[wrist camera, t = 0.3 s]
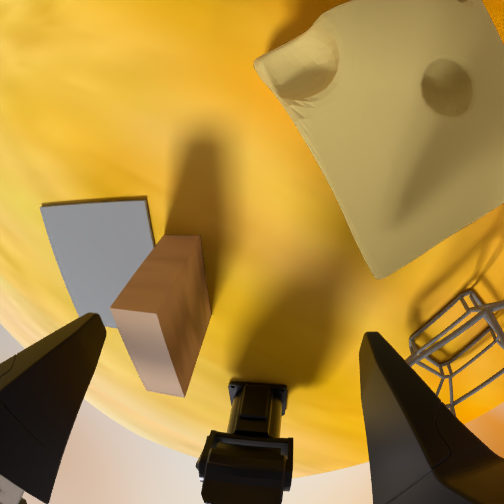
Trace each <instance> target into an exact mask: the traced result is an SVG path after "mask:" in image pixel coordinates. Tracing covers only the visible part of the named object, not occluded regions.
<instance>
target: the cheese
mask: <svg viewBox="0 0 504 504" xmlns="http://www.w3.org/2000/svg"><path fill="white" fill-rule="evenodd" d="M254 68H255V70H256V72H257V74H258V75H259V77H260V78H261V79H262V81H263V82H264V83H265V84H266V85H267V86H268V87H269V88H270V90H271V91H272V92H273V93H274V95H275V96H276V97H277V99H278V100H279V101H280V103H281V104H282V106H283V107H284V109H285V110H286V112H287V113H288V115H289V116H290V118H291V119H292V121H293V122H294V124H295V126H296V127H297V129H298V131H299V132H300V134H301V136H302V137H303V139H304V141H305V142H306V144H307V146H308V147H309V149H310V151H311V153H312V154H313V156H314V158H315V160H316V162H317V163H318V165H319V167H320V169H321V171H322V172H323V174H324V176H325V178H326V180H327V182H328V183H329V185H330V187H331V189H332V191H333V193H334V195H335V197H336V199H337V201H338V203H339V205H340V208H341V210H342V212H343V215H344V217H345V220H346V222H347V224H348V226H349V228H350V231H351V233H352V235H353V237H354V239H355V241H356V243H357V245H358V247H359V250H360V252H361V254H362V256H363V258H364V260H365V262H366V263H367V265H368V267H369V269H370V271H371V272H372V274H373V276H374V277H375V278H376V279H383V278H385V277H387V276H389V275H391V274H392V273H394V272H396V271H397V270H399V269H400V268H402V267H404V266H405V265H407V264H408V263H410V262H412V261H413V260H415V259H416V258H418V257H419V256H421V255H422V254H424V253H425V252H427V251H428V250H430V249H431V248H433V247H434V246H436V245H437V244H439V243H440V242H442V241H443V240H445V239H446V238H448V237H450V236H451V235H453V234H455V233H456V232H458V231H459V230H461V229H463V228H464V227H466V226H468V225H469V224H471V223H473V222H474V221H476V220H478V219H479V218H481V217H482V216H484V215H486V214H487V213H489V212H490V211H492V210H494V209H495V208H497V207H498V206H500V205H501V204H503V203H504V45H503V42H502V40H501V38H500V36H499V34H498V32H497V30H496V28H495V26H494V24H493V22H492V20H491V18H490V16H489V14H488V12H487V10H486V8H485V6H484V4H483V2H482V0H351V1H349V2H346V3H343V4H341V5H338V6H336V7H334V8H332V9H330V10H328V11H326V12H324V13H322V15H321V16H320V17H319V18H318V19H317V20H316V21H315V22H314V24H313V25H312V26H311V27H310V28H309V29H308V30H307V31H306V32H304V33H303V34H301V35H299V36H298V37H296V38H294V39H293V40H291V41H289V42H287V43H285V44H283V45H281V46H279V47H277V48H275V49H273V50H271V51H269V52H267V53H265V54H263V55H262V56H260V57H258V58H257V59H256V60H254Z"/></svg>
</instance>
